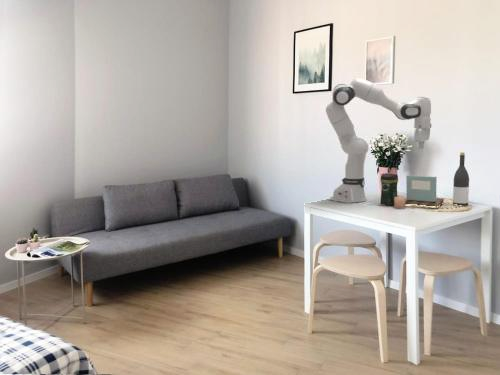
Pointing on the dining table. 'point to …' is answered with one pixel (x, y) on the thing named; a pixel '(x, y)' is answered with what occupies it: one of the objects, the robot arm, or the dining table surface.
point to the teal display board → (421, 188)
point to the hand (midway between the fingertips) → (421, 148)
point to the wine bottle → (461, 184)
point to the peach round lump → (399, 202)
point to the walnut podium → (425, 202)
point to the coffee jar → (388, 188)
